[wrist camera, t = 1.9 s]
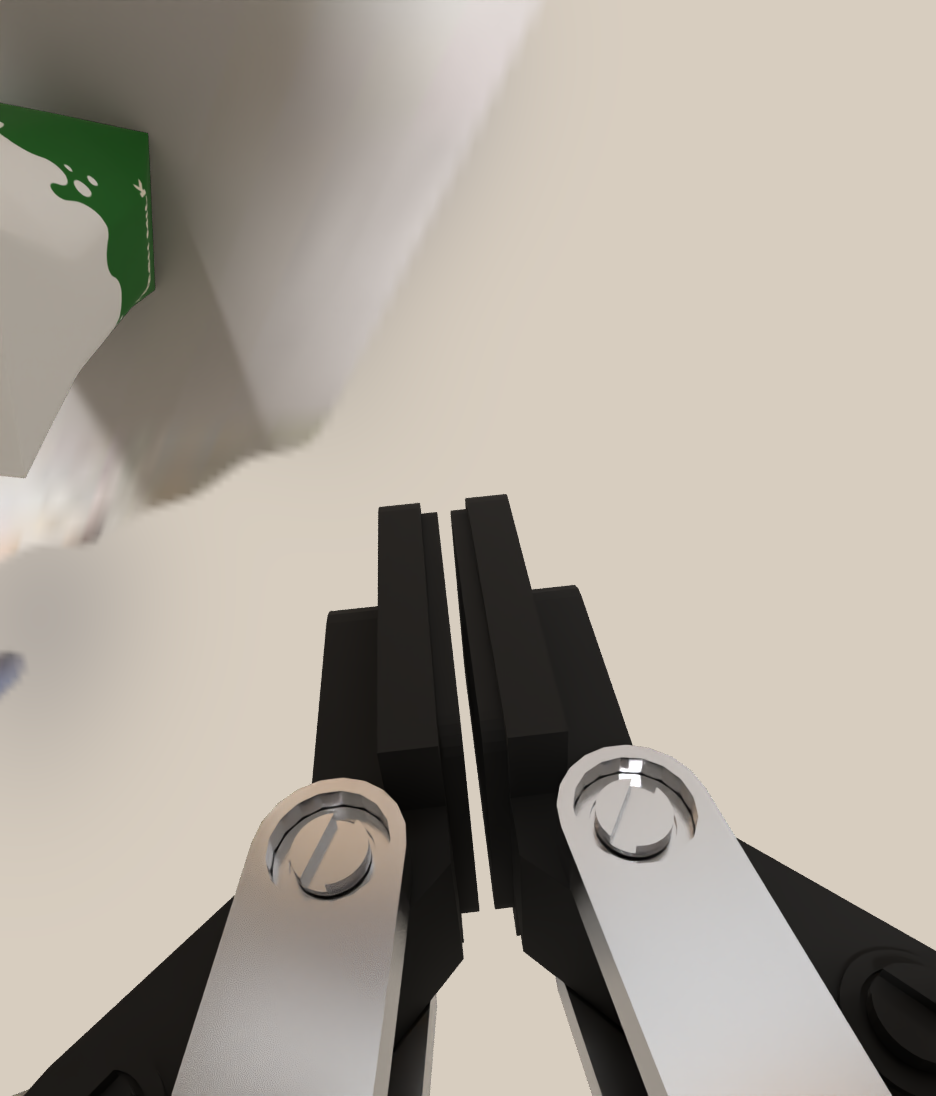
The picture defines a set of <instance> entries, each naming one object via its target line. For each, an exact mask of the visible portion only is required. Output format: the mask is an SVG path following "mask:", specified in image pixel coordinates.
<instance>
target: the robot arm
mask: <svg viewBox="0 0 936 1096" xmlns="http://www.w3.org/2000/svg"><path fill="white" fill-rule="evenodd" d="M465 502H466V503H465V504H466V509H463V510H453V511H451V523H452V534H453V546H454V557H455V568H456V579H457V590H458V601H459V613H460V623H461V635H462V645H463V657H464V667H465V676H466V685H467V693H468V700H469V708H470V716H471V724H472V732H473V740H474V748H475V756H476V764H477V772H478V780H479V788H480V795H481V803H482V811H483V819H484V826H485V835H486V843H487V851H488V859H489V866H490V875H491V883H492V891H493V898H494V905H495V909H501V908H509V907H513V913H514V920H515V927H516V934H517V936H519V935H521V939H522V945H523V951H524V952H525V953H526V954H528V955H529V956H530V957H531V958H533V959H534V960H535V961H537V962H538V963H539V964H540V965H542V966H543V967H544V968H546V969H547V970H548V971H549V972H551V973H552V974H553V975H555V976H556V982H557V987H558V992H559V994H560V998H561V1001H562V1004H563V1007H564V1010H565V1013H566V1016H567V1019H568V1022H569V1025H570V1028H571V1032H572V1035H573V1037H574V1041H575V1044H576V1047H577V1050H578V1053H579V1056H580V1059H581V1062H582V1065H583V1068H584V1071H585V1074H586V1077H587V1081H588V1084H589V1087H590V1090H591V1093H592V1096H936V951H935V950H933V949H931V948H930V947H928V946H926V945H924V944H923V943H921V942H919V941H917V940H916V939H914V938H912V937H910V936H909V935H907V934H905V933H903V932H902V931H900V930H898V929H896V928H894V927H893V926H891V925H889V924H887V923H886V922H884V921H882V920H880V919H879V918H877V917H875V916H873V915H871V914H870V913H868V912H866V911H865V910H862V909H861V908H859V907H857V906H856V905H854V904H852V903H850V902H849V901H847V900H845V899H843V898H841V897H840V896H838V895H836V894H835V893H833V892H831V891H829V890H828V889H826V888H824V887H822V886H820V885H819V884H817V883H815V882H813V881H812V880H810V879H808V878H806V877H805V876H803V875H801V874H799V873H798V872H796V871H794V870H792V869H790V868H789V867H787V866H785V865H783V864H781V863H780V862H778V861H776V860H775V859H773V858H771V857H769V856H768V855H766V854H764V853H762V852H761V851H759V850H757V849H755V848H754V847H752V846H750V845H748V844H746V843H745V842H743V841H741V840H739V839H738V838H736V837H735V836H734V834H733V832H732V831H731V829H730V827H729V826H728V824H727V823H726V821H725V819H724V818H723V816H722V814H721V813H720V811H719V809H718V808H717V806H716V804H715V803H714V801H713V799H712V798H711V796H710V794H709V793H708V791H707V789H706V788H705V787H704V785H703V784H702V783H701V782H700V781H699V779H698V778H697V777H696V776H695V774H694V773H693V772H692V771H691V770H690V769H688V768H687V767H686V766H684V765H683V764H681V763H680V762H679V761H677V760H676V759H674V758H673V757H671V756H669V755H666V754H664V753H661V752H659V751H656V750H654V749H651V748H646V747H639V746H633V745H632V742H631V739H630V737H629V734H628V731H627V728H626V725H625V722H624V719H623V716H622V713H621V710H620V707H619V704H618V701H617V699H616V696H615V693H614V690H613V687H612V684H611V681H610V678H609V675H608V672H607V669H606V666H605V664H604V661H603V658H602V655H601V652H600V649H599V646H598V643H597V640H596V637H595V634H594V631H593V628H592V626H591V623H590V620H589V617H588V614H587V611H586V608H585V605H584V602H583V599H582V596H581V594H580V592H579V589H578V588H577V587H576V586H575V585H570V586H561V587H552V588H543V589H533V590H532V589H531V586H530V581H529V578H528V574H527V570H526V566H525V562H524V558H523V554H522V551H521V547H520V543H519V539H518V535H517V531H516V527H515V524H514V520H513V516H512V512H511V508H510V504H509V501H508V497H507V495H506V494H503V495H492V496H483V497H473V498H466V499H465ZM445 589H446V588H445V579H444V571H443V562H442V553H441V543H440V535H439V525H438V517H437V512H434V513H424V514H421V508H420V503H415V504H405V505H395V506H385V507H379V511H378V606H376V607H366V608H357V609H348V610H338V611H330V612H329V614H328V617H327V623H326V634H325V646H324V656H323V669H322V679H321V690H320V701H319V712H318V723H317V734H316V745H315V757H314V767H313V778H312V784H310V785H308V786H305V787H302V788H300V789H298V790H296V791H295V792H293V793H292V794H290V795H289V796H288V797H286V798H285V799H283V800H282V801H280V802H279V803H278V804H277V805H276V806H275V807H274V808H273V809H272V810H271V812H270V813H269V814H268V815H267V816H266V817H265V818H264V820H263V821H262V822H261V824H260V826H259V829H258V830H257V833H256V835H255V837H254V839H253V841H252V843H251V846H250V849H249V852H248V855H247V859H246V862H245V865H244V868H243V871H242V874H241V877H240V881H239V884H238V887H237V890H236V894H235V895H234V896H233V897H232V898H231V899H230V900H229V901H228V902H227V903H226V904H225V905H224V906H223V907H221V908H220V909H219V910H218V911H217V912H216V913H215V914H214V915H213V916H212V917H211V918H210V919H209V920H208V921H206V922H205V923H204V924H203V925H202V926H201V927H200V928H199V929H198V930H197V931H196V932H195V933H193V935H191V936H190V937H189V938H188V939H187V940H186V941H185V942H184V943H183V944H182V945H180V946H179V947H178V948H177V949H176V950H175V951H174V952H173V953H172V954H171V955H170V956H169V957H167V958H166V959H165V960H164V961H163V962H162V963H161V964H160V965H159V966H158V967H157V968H156V969H155V970H153V971H152V972H151V973H150V974H149V975H148V976H147V977H146V978H145V979H144V980H143V981H142V982H140V984H138V985H137V986H136V987H135V988H134V989H133V990H132V991H131V992H130V993H129V994H128V995H126V996H125V997H124V998H123V999H122V1000H121V1001H120V1002H119V1003H118V1004H117V1005H116V1006H115V1007H114V1008H112V1009H111V1010H110V1011H109V1012H108V1013H107V1014H106V1015H105V1016H104V1017H103V1018H102V1019H101V1020H99V1021H98V1022H97V1023H96V1024H95V1025H94V1026H93V1027H92V1028H91V1029H90V1030H89V1031H88V1032H86V1033H85V1034H84V1036H82V1037H81V1038H80V1039H79V1040H78V1041H77V1042H76V1043H75V1044H74V1045H72V1046H71V1047H70V1048H69V1049H68V1050H67V1051H66V1052H65V1053H64V1054H63V1055H62V1056H61V1057H60V1058H59V1059H57V1060H56V1061H55V1062H54V1063H53V1064H52V1065H51V1066H50V1067H49V1068H48V1069H47V1070H46V1071H45V1072H44V1073H43V1075H42V1076H41V1077H40V1078H39V1079H38V1080H37V1081H36V1082H35V1084H34V1085H33V1086H32V1087H31V1088H30V1089H29V1090H26V1091H24V1092H21V1093H18V1094H16V1095H13V1096H429V1095H430V1084H431V1072H432V1060H433V1047H434V1034H435V1023H436V1011H437V1000H436V993H437V992H438V990H439V989H440V988H441V987H442V986H443V984H444V983H445V982H446V980H447V979H448V978H449V977H450V975H451V974H452V973H453V972H454V970H455V969H456V967H457V966H458V965H459V964H460V963H461V961H462V960H463V949H462V943H463V942H464V939H463V928H462V917H461V913H468V912H477V911H479V903H478V891H477V881H476V872H475V862H474V851H473V841H472V832H471V821H470V811H469V802H468V791H467V781H466V772H465V761H464V752H463V742H462V733H461V723H460V714H459V705H458V696H457V687H456V678H455V669H454V660H453V651H452V643H451V634H450V624H449V615H448V606H447V598H446V590H445Z"/></svg>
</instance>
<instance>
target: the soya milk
mask: <svg viewBox="0 0 936 1096" xmlns="http://www.w3.org/2000/svg"><path fill="white" fill-rule="evenodd" d="M154 290H155V274H154V252H153V229H152V206H151V184H150V161H149V138H148V133H145V132H140V131H135V130H130V129H125V128H120V127H115V126H111V125H106V124H101V123H97V122H92V121H88V120H83V119H78V118H74V117H69V116H65V115H60V114H55V113H50V112H44V111H39V110H34V109H29V108H24V107H19V106H13V105H8V104H3V103H0V476H8V477H18V478H26V476H27V474H28V472H29V470H30V468H31V466H32V464H33V461H34V459H35V457H36V455H37V453H38V451H39V449H40V447H41V445H42V443H43V441H44V439H45V437H46V435H47V433H48V431H49V429H50V427H51V425H52V423H53V421H54V419H55V417H56V415H57V413H58V411H59V409H60V407H61V406H62V404H63V402H64V400H65V398H66V396H67V394H68V392H69V390H70V388H71V386H72V384H73V382H74V380H75V378H76V377H77V375H78V373H79V372H80V370H81V369H82V368H83V366H84V365H85V364H86V363H87V361H88V360H89V359H90V358H91V356H92V355H93V354H94V353H95V352H96V350H97V349H98V348H99V347H100V345H101V344H102V343H103V342H104V340H105V339H106V338H107V337H108V336H109V334H110V333H111V332H112V331H113V329H114V328H115V327H116V326H117V325H118V323H119V322H120V321H121V320H122V318H123V317H124V316H125V315H126V314H127V312H128V311H129V310H130V309H131V307H133V306H134V305H135V304H137V303H138V302H139V301H141V300H142V299H143V298H145V297H146V296H147V295H149V294H150V293H151V292H153V291H154Z"/></svg>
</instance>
